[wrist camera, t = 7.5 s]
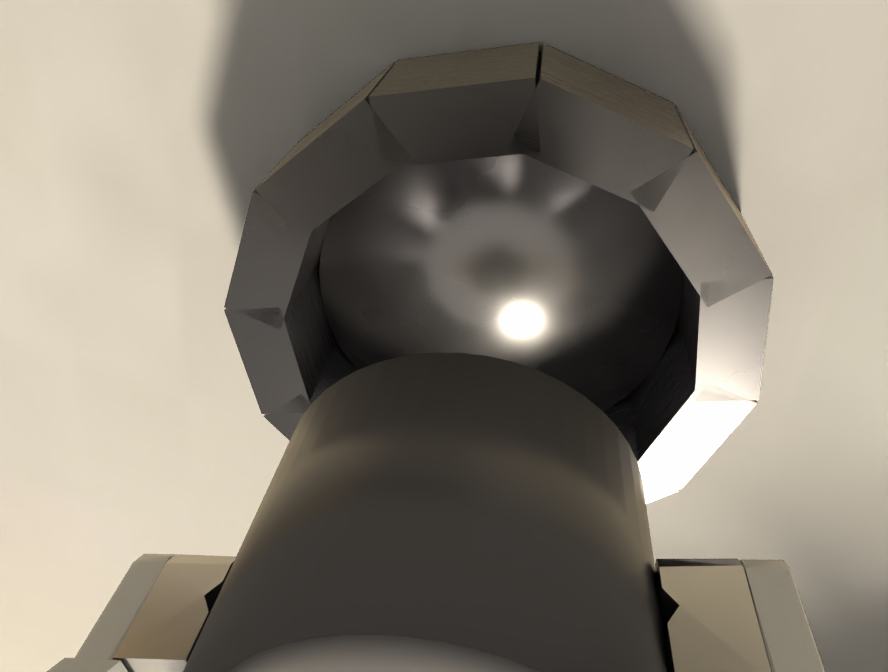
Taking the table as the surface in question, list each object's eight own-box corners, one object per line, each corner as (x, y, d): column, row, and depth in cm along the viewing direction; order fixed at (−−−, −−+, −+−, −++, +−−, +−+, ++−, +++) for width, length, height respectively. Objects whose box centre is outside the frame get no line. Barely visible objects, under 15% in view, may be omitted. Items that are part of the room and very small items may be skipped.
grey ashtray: (759, 15, 12) (801, 46, 10) (721, 455, 18) (743, 534, 16) (215, 82, 14) (156, 121, 12) (332, 460, 20) (304, 532, 18)
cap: (644, 342, 9) (707, 676, 5) (643, 614, 12) (682, 953, 8) (243, 361, 10) (59, 650, 6) (331, 607, 13) (241, 905, 9)
